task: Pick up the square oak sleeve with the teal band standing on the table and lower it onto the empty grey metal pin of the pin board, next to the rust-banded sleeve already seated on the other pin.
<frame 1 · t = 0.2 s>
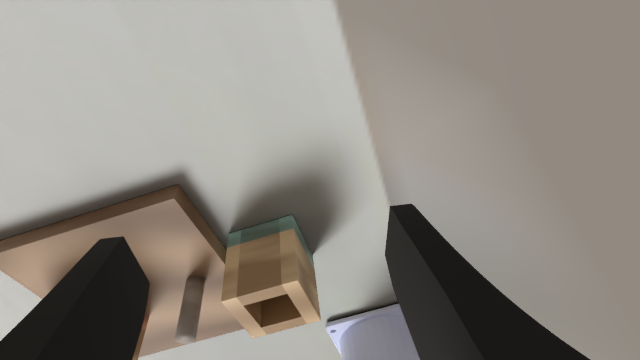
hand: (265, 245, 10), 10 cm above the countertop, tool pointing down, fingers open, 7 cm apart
sleeve: (272, 245, 25), on the countertop
pin board: (152, 280, 26), on the countertop
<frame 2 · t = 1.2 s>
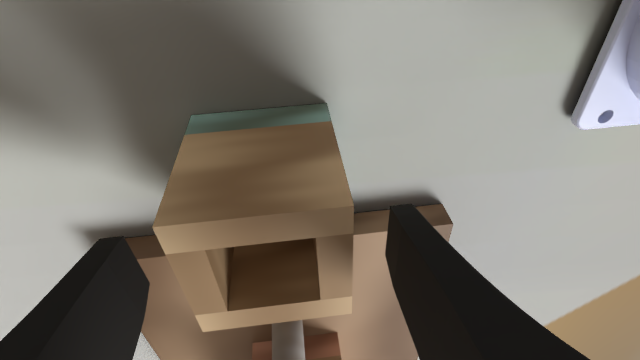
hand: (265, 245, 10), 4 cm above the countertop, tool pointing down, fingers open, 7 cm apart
sleeve: (268, 163, 13), on the countertop
seated sleeve: (298, 357, 20), point 1 cm above the countertop, touching pin board
pin board: (291, 302, 19), on the countertop
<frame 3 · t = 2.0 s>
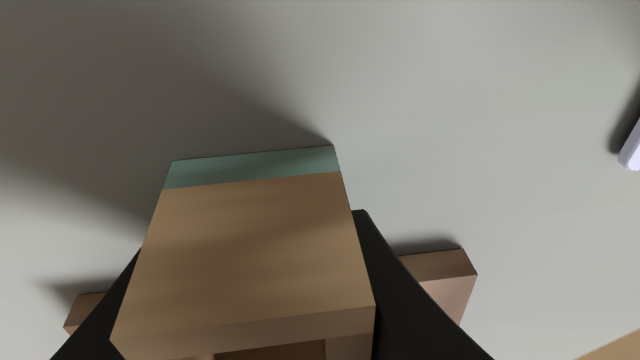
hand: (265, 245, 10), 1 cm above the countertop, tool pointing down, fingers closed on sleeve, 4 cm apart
sleeve: (265, 211, 11), on the countertop, touching gripper
pin board: (292, 350, 17), on the countertop
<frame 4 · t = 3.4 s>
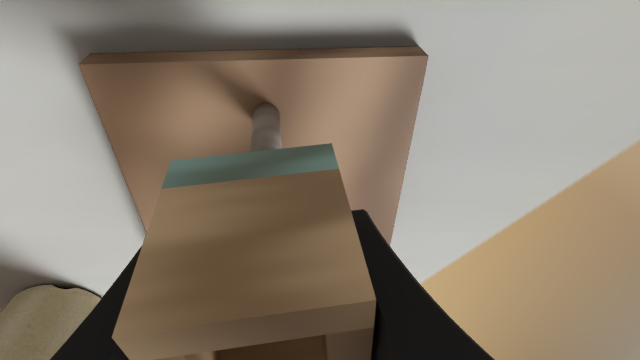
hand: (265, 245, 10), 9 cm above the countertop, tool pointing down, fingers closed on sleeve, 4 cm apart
flower pot: (65, 306, 25), on the countertop
sleeve: (263, 209, 11), point 7 cm above the countertop, touching gripper
pin board: (271, 163, 19), on the countertop
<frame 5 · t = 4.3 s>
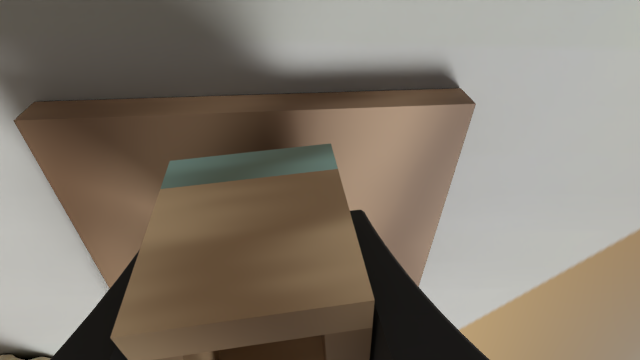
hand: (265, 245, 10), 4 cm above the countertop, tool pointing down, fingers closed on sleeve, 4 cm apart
sleeve: (263, 210, 11), point 3 cm above the countertop, touching gripper
pin board: (271, 222, 16), on the countertop
when the fingers open (4 cm above the countertop, at t = 4.7 s): sleeve drops 2 cm, resting on pin board.
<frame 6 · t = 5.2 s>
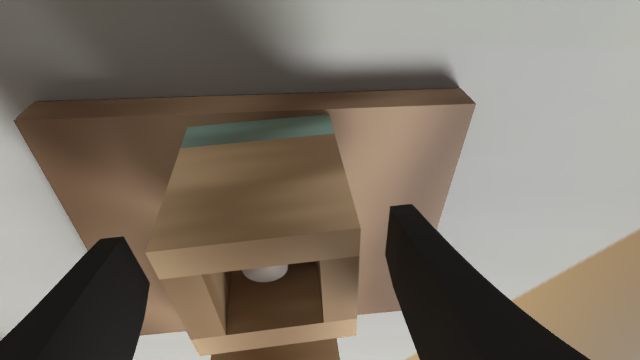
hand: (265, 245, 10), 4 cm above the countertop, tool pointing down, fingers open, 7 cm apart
sleeve: (268, 175, 13), point 1 cm above the countertop, touching pin board
seated sleeve: (276, 293, 17), point 1 cm above the countertop, touching pin board
pin board: (271, 222, 16), on the countertop
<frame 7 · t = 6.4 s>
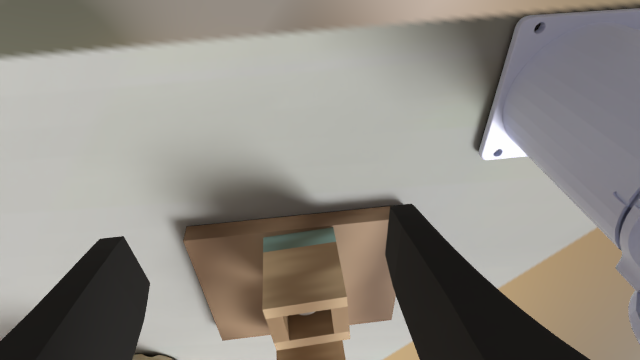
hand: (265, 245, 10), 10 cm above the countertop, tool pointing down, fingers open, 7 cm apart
sleeve: (302, 255, 24), point 1 cm above the countertop, touching pin board
seated sleeve: (306, 313, 28), point 1 cm above the countertop, touching pin board
pin board: (302, 273, 27), on the countertop
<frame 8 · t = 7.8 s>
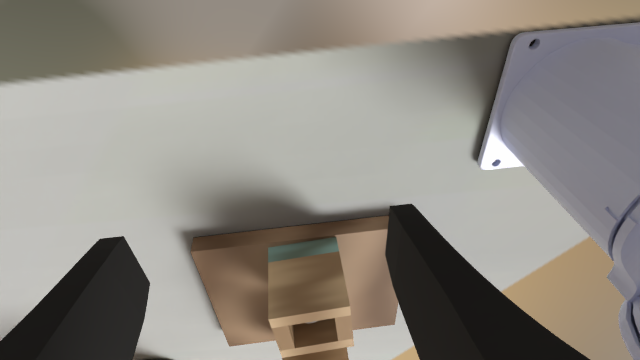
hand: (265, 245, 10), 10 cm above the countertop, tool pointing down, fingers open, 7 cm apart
sleeve: (306, 263, 25), point 1 cm above the countertop, touching pin board
seated sleeve: (311, 319, 29), point 1 cm above the countertop, touching pin board
pin board: (307, 280, 28), on the countertop
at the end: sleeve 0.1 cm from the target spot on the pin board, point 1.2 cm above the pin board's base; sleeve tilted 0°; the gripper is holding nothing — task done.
